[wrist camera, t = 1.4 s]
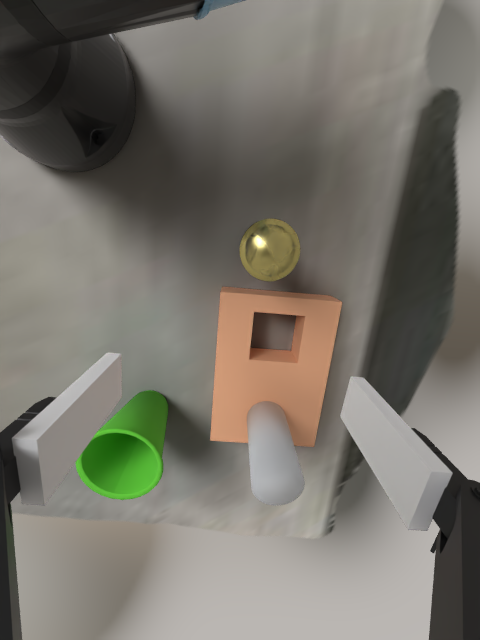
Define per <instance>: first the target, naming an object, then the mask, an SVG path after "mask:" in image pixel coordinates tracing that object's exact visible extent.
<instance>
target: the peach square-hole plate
mask: <svg viewBox="0 0 480 640" xmlns="http://www.w3.org/2000/svg"><path fill="white" fill-rule="evenodd" d="M341 307H342V302H341V301H339V300H338V299H336V298H334V297H332V296H329V295H317V294H305V293H293V292H282V291H270V290H258V289H246V288H235V287H223V286H222V289H221V292H220V306H219V321H218V335H217V350H216V364H215V379H214V393H213V407H212V422H211V436H210V441H225V442H241V443H248V445H249V460H250V474H251V488H252V492H253V494H254V495H255V497H256V498H257V499H258V500H260V501H261V502H263V503H266V504H269V505H284V504H287V503H290V502H292V501H294V500H295V499H296V498H298V497H299V496H300V494H301V493H302V491H303V489H304V484H305V483H304V477H303V474H302V470H301V467H300V463H299V460H298V457H297V453H296V450H295V447H294V446H307V447H314V444H315V439H316V434H317V429H318V424H319V419H320V414H321V409H322V404H323V399H324V393H325V388H326V383H327V378H328V373H329V368H330V363H331V358H332V353H333V347H334V342H335V337H336V332H337V327H338V322H339V317H340V312H341ZM254 312H262V313H274V314H286V315H296V322H295V328H294V335H293V342H292V348H291V351H287V350H274V349H261V348H250V345H251V336H252V326H253V317H254Z"/></svg>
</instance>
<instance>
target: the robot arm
mask: <svg viewBox="0 0 480 640" xmlns="http://www.w3.org/2000/svg"><path fill="white" fill-rule="evenodd" d="M242 1H245V0H0V136H1V137H2V138H3V139H4V140H5V141H6V142H7V143H9V144H10V145H11V146H12V147H13V148H15V149H16V150H18V151H19V152H21V153H22V154H24V155H25V156H27V157H29V158H31V159H33V160H35V161H37V162H40V163H42V164H44V165H47V166H49V167H52V168H55V169H58V170H63V171H70V172H80V171H87V170H91V169H94V168H97V167H99V166H101V165H103V164H105V163H106V162H108V161H109V160H110V159H112V158H113V157H114V156H115V155H116V154H117V153H118V152H119V150H120V149H121V148H122V146H123V145H124V143H125V142H126V140H127V138H128V136H129V134H130V131H131V128H132V125H133V121H134V116H135V107H136V95H135V85H134V80H133V75H132V72H131V68H130V65H129V63H128V60H127V58H126V55H125V53H124V51H123V49H122V48H121V46H120V44H119V42H118V41H117V39H116V37H115V35H114V34H113V33H117V32H122V31H127V30H131V29H136V28H141V27H146V26H151V25H155V24H160V23H165V22H170V21H174V20H179V19H184V18H189V17H194V18H195V19H196V20H198V19H202V18H204V17H205V16H206V15H207V14H208V13H209V11H212V10H215V9H218V8H222V7H225V6H228V5H232V4H235V3H238V2H242ZM121 397H122V378H121V354H118V353H106V354H105V355H104V356H103V357H102V358H100V359H99V360H98V361H97V362H96V363H95V364H94V365H93V366H92V367H90V368H89V369H88V370H87V371H86V372H85V373H84V374H83V375H82V376H80V377H79V378H78V379H77V380H76V381H75V382H74V383H73V384H72V385H70V386H69V387H68V388H67V389H66V390H65V391H64V392H63V393H61V394H60V395H59V396H58V397H57V398H55V397H47V398H45V399H43V400H41V401H39V402H37V403H35V404H34V405H33V406H32V407H31V408H29V409H28V410H27V411H26V413H23V414H22V415H21V416H20V417H18V419H17V420H15V421H14V422H12V423H11V424H10V425H9V426H8V427H6V428H5V429H4V430H3V431H2V432H0V640H22V632H21V620H20V608H19V596H18V584H17V571H16V559H15V547H14V535H13V523H12V510H11V504H10V502H11V501H12V500H13V499H14V497H15V496H16V495H17V494H18V493H19V492H20V496H21V503H22V504H27V505H42V506H45V505H46V503H47V502H48V500H49V499H50V497H51V496H52V495H53V493H54V492H55V490H56V489H57V488H58V486H59V485H60V483H61V482H62V481H63V479H64V478H65V476H66V475H67V473H68V472H69V471H70V469H71V468H72V466H73V465H74V464H75V462H76V461H77V459H78V458H79V457H80V455H81V454H82V452H83V451H84V450H85V448H86V447H87V445H88V444H89V442H90V441H91V440H92V438H93V437H94V435H95V434H96V433H97V431H98V430H99V428H100V427H101V426H102V424H103V423H104V421H105V420H106V418H107V417H108V416H109V414H110V413H111V411H112V410H113V409H114V407H115V406H116V404H117V403H118V402H119V400H120V399H121ZM340 417H341V419H342V421H343V422H344V424H345V426H346V427H347V429H348V431H349V432H350V434H351V436H352V437H353V439H354V441H355V442H356V444H357V446H358V447H359V449H360V451H361V452H362V454H363V456H364V457H365V459H366V461H367V462H368V464H369V466H370V467H371V469H372V471H373V472H374V474H375V476H376V477H377V479H378V481H379V482H380V484H381V486H382V487H383V489H384V491H385V492H386V494H387V496H388V497H389V499H390V501H391V502H392V504H393V506H394V507H395V509H396V511H397V512H398V514H399V516H400V517H401V519H402V521H403V522H404V524H405V526H406V528H407V529H408V530H421V531H427V530H428V528H429V525H430V523H431V521H432V519H434V521H435V522H436V524H437V525H438V526H439V528H440V531H439V533H438V535H437V537H436V539H435V542H434V544H433V546H432V548H431V552H432V553H434V552H435V550H436V555H435V568H434V581H433V594H432V607H431V621H430V633H429V640H480V483H479V482H476V481H473V480H468V479H467V478H466V477H465V476H464V475H463V474H462V473H461V472H460V471H459V470H458V469H457V468H456V467H455V466H454V465H453V464H452V463H451V462H450V461H449V460H448V458H447V457H446V456H444V455H443V454H442V452H441V451H440V450H439V449H438V448H437V447H435V445H434V444H433V443H432V442H431V441H430V440H429V439H428V438H427V437H426V436H425V435H423V434H422V433H420V432H419V431H417V430H416V429H415V428H410V427H409V426H408V425H407V424H406V423H405V422H404V420H403V419H402V418H401V417H400V416H399V415H398V414H397V413H396V412H395V411H394V410H393V409H392V408H391V407H390V405H389V404H388V403H387V402H386V401H385V400H384V399H383V398H382V397H381V396H380V395H379V394H378V393H377V392H376V390H375V389H374V388H373V387H372V386H371V385H370V384H369V383H368V382H367V381H366V380H365V379H364V378H362V377H352V376H351V377H350V381H349V385H348V389H347V392H346V396H345V400H344V404H343V407H342V411H341V415H340Z"/></svg>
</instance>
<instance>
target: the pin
mask: <svg viewBox="0 0 480 640" xmlns="http://www.w3.org/2000/svg"><path fill="white" fill-rule="evenodd" d="M299 255H300V243H299V239H298V236H297V234H296V233H295V231H294V230H293V229H292V227H291V226H289V225H288V224H287V223H285V222H283V221H281V220H278V219H264V220H261V221H258V222H256V223H255V224H253V225H252V226H251V227H250V228H249V229H248V230H247V231H246V232H245V234H244V236H243V237H242V240H241V243H240V258H241V261H242V264H243V266H244V268H245V269H246V270H247V271H248V273H249V274H251V275H252V276H253V277H255V278H257V279H259V280H263V281H275V280H279V279H281V278H283V277H285V276H286V275H288V274H289V273H290V272H291V271H292V270H293V269H294V267H295V266H296V264H297V262H298V259H299Z"/></svg>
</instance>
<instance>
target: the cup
mask: <svg viewBox="0 0 480 640" xmlns="http://www.w3.org/2000/svg"><path fill="white" fill-rule="evenodd" d="M167 417H168V403H167V401H166V399H165V397H164V396H163V395H162V394H160V393H158V392H156V391H151V390H149V391H143V392H140V393H139V394H137V395H136V396H135V397H134V398H133V399H131V400H130V401H129V402H128V403H127V404H126V405H125V406H124V407H123V408H122V409H121V410H120V411H119V412H118V413H117V414H116V415H114V416H113V417H112V418H111V419H110V420H109V421H108V422H107V423H106V424H105V425H104V426H103V427H102V428H101V429H100V430H99V431H97V433H96V434H95V435H94V437H93V438H92V440H91V441H90V442H89V444H88V445H87V447H86V448H85V450H84V451H83V452H82V454H81V455H80V457H79V458H78V459H77V461H76V468H77V472H78V474H79V476H80V478H81V479H82V481H83V482H84V483H85V484H86V485H87V486H88V487H89V488H90V489H92V490H93V491H94V492H96V493H98V494H100V495H102V496H105V497H109V498H112V499H120V500H124V499H133V498H137V497H141V496H143V495H144V494H146V493H148V492H149V491H151V490H152V489H153V488H154V487H155V486H156V485H157V484H158V482H159V480H160V479H161V477H162V473H163V460H162V453H163V446H164V439H165V431H166V424H167Z"/></svg>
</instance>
